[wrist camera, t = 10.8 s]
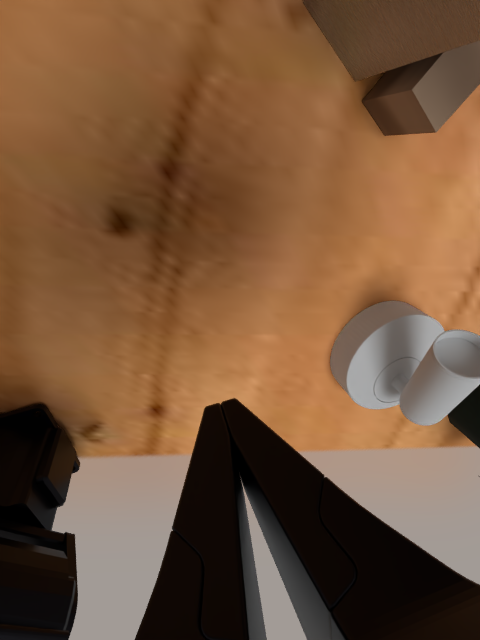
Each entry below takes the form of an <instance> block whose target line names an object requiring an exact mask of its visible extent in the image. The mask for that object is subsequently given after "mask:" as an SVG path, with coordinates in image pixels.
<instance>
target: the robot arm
mask: <svg viewBox="0 0 480 640" xmlns="http://www.w3.org/2000/svg"><path fill="white" fill-rule="evenodd" d="M36 411H39V412H41V413H37V412H36ZM79 467H80V462H79V460H78V458H77V456H76V451H75V449H74V447H73V446H72V444H71V442H70V441H69V439H68V437H67V436H66V434H65V432H64V431H63V429H61V428H60V427H58V425H57V423H56V422H55V420H54V418H53V417H52V415H51V413H50V412H49V410H48V408H47V407H46V406H44V405H41V404H37V405H33V406H29V407H25V408H22V409H18V410H15V411H11V412H7V413H4V414H0V640H68V638H69V636H70V632H71V630H72V627H73V623H74V619H75V615H76V609H77V601H78V590H77V570H76V550H75V535H74V534H71V533H67V532H65V533H64V534H63V533H59V532H55V531H52V525H53V522H54V518H55V514H56V510H57V507H60V506H62V505H63V504H64V502H65V500H66V496H67V492H68V487H69V483H70V478H71V474H72V473H75V472H77V471H78V470H79ZM240 477H241V478H240ZM241 480H242V482H241ZM242 483H243V486H244V489H245V492H246V494H247V497H248V499H249V501H250V504H251V506H252V509H253V511H254V513H255V516H256V518H257V520H258V523H259V525H260V527H261V530H262V532H263V535H264V537H265V540H266V542H267V544H268V547H269V549H270V552H271V554H272V557H273V559H274V561H275V564H276V566H277V568H278V571H279V573H280V576H281V578H282V580H283V582H284V585H285V588H286V590H287V592H288V595H289V597H290V599H291V602H292V604H293V607H294V609H295V612H296V614H297V616H298V619H299V621H300V623H301V626H302V628H303V631H304V633H305V635H306V638H307V640H480V585H479V584H477V583H475V582H473V581H471V580H469V579H467V578H465V577H464V576H462V575H460V574H459V573H457V572H455V571H454V570H452V569H451V568H449V567H448V566H446V565H445V564H443V563H442V562H440V561H439V560H438V559H436V558H435V557H433V556H432V555H430V554H429V553H427V552H426V551H425V550H423V549H422V548H420V547H419V546H417V545H416V544H415V543H413V542H412V541H410V540H409V539H407V538H406V537H404V536H403V535H402V534H400V533H399V532H397V531H396V530H394V529H393V528H391V527H390V526H389V525H387V524H386V523H384V522H383V521H381V520H380V519H379V518H377V517H376V516H375V515H373V514H372V513H371V512H369V511H368V510H366V509H365V508H364V507H362V506H361V505H359V504H358V503H357V502H356V501H355V500H353V499H352V498H351V497H350V496H348V495H347V494H346V493H345V492H344V491H342V490H341V489H340V488H339V487H337V486H336V485H335V484H334V483H333V482H332V481H331V480H330V479H328V478H327V477H325V478H324V475H323V474H322V473H321V472H320V471H319V470H318V469H317V468H315V467H314V466H313V465H312V464H311V463H310V462H308V461H307V460H306V459H305V458H304V457H303V456H302V455H300V454H299V453H298V452H297V451H296V450H295V449H294V448H292V447H291V446H290V445H289V444H288V443H287V442H286V441H284V440H283V439H282V438H281V437H280V436H279V435H277V434H276V433H275V432H274V431H273V430H272V429H271V428H269V427H268V426H267V425H266V424H265V423H264V422H262V421H261V420H260V419H259V418H258V417H257V416H256V415H254V414H253V413H252V412H251V411H250V410H249V409H247V408H246V407H245V406H244V405H243V404H242V403H241V402H239V401H238V400H237V399H235V398H233V399H230V400H226V401H223V402H222V403H221V404H220V403H216V404H213V405H210V406H207V407H205V409H204V412H203V416H202V420H201V424H200V427H199V431H198V435H197V438H196V442H195V446H194V449H193V453H192V457H191V460H190V464H189V468H188V471H187V475H186V479H185V482H184V486H183V490H182V493H181V497H180V501H179V504H178V508H177V512H176V515H175V519H174V523H173V526H172V529H173V531H171V533H170V537H169V541H168V545H167V548H166V551H165V555H164V558H163V561H162V565H161V568H160V571H159V574H158V578H157V581H156V584H155V587H154V589H153V592H152V595H151V598H150V600H149V603H148V606H147V609H146V611H145V614H144V617H143V619H142V622H141V625H140V627H139V630H138V632H137V635H136V638H135V640H267V638H266V632H265V626H264V620H263V613H262V606H261V600H260V594H259V587H258V581H257V575H256V568H255V561H254V555H253V549H252V542H251V536H250V529H249V523H248V517H247V510H246V504H245V497H244V492H243V487H242Z"/></svg>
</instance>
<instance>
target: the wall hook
mask: <svg viewBox="0 0 480 640" xmlns="http://www.w3.org/2000/svg"><path fill="white" fill-rule="evenodd" d="M330 366H331V371H332V374H333V376H334V378H335V379H336V380H337V382H338V383H339V384H340V385H341V386H342V388H343V389H344V390H345V391H346V392H347V394H348V395H349V396H350V397H351V398H352V400H353V401H355V402H356V403H357V404H358V405H360V406H362V407H365V408H369V409H385V408H389V407H393V406H396V405H398V404H400V408H401V411H402V413H403V414H404V415H405V417H406V418H407V419H409V420H410V421H412V422H413V423H416V424H419V425H433V424H435V423H438V422H439V421H441V420H442V419H443V418H444V417H445V416H446V415H447V414H448V413H450V412H451V411H452V410H453V409H454V408H455V407H456V406H457V405H458V404H459V403H460V402H461V401H462V400H464V399H465V398H466V397H467V396H468V395H469V394H470V393H471V392H472V391H473V390H474V389H475V388H476V387H478V386H479V385H480V336H479V335H477V334H475V333H472V332H469V331H465V330H448V331H444V329H443V327H442V326H441V324H440V323H439V322H438V321H436V320H435V319H434V318H432V317H430V316H429V315H427V314H425V313H423V312H422V311H420V310H418V309H417V308H415V307H413V306H411V305H410V304H408V303H405V302H401V301H385V302H381V303H378V304H375V305H372V306H370V307H368V308H366V309H365V310H363V311H361V312H360V313H358V314H357V315H356V316H355V317H353V318H352V319H351V320H350V321H349V322H348V323H347V324H346V325H345V327H344V328H343V329H342V331H341V332H340V333H339V335H338V337H337V339H336V341H335V343H334V345H333V348H332V352H331V357H330Z"/></svg>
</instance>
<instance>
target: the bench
mask: <svg viewBox="0 0 480 640" xmlns="http://www.w3.org/2000/svg"><path fill="white" fill-rule="evenodd" d="M479 84H480V41H477V42H473V43H470V44H467V45H464V46H461V47H458V48H455V49H452V50H449V51H446V52H443V53H440V54H437V55H434V56H431V57H428V58H425V59H422V60H419V61H416V62H413V63H410V64H407V65H404V66H401V67H398V68H395V69H392V70H389V71H387V72H386V73H385V74H384V75H383V76H382V78H381V79H380V80H379V81H378V82H377V84H376V85H375V86H374V87H373V88H372V90H371V91H370V92H369V93H368V95H367V96H366V97H365V98H364V99H363V101H362V102H363V104H364V105H365V107H366V108H367V110H368V111H369V113H370V114H371V116H372V117H373V119H374V120H375V122H376V123H377V125H378V126H379V128H380V129H381V131H382V132H383V134H384V135H385V136H388V135H404V134H419V133H435V132H437V131H438V130H439V129H440V128H441V127H442V125H443V124H444V123H445V122H446V121H447V120H448V119H449V118H450V117H451V115H452V114H453V113H454V112H455V111H456V110H457V109H458V108H459V106H460V105H461V104H462V103H463V102H464V101H465V100H466V99H467V98H468V96H469V95H470V94H471V93H472V92H473V91H474V90H475V89H476V87H477V86H478V85H479Z"/></svg>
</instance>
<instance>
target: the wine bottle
mask: <svg viewBox="0 0 480 640" xmlns="http://www.w3.org/2000/svg"><path fill="white" fill-rule="evenodd" d="M448 416H449V421H450V423H451V424H453V425H454V426H455V427H456V428H457V429H458V430H459V431H461V432H462V433H463V434H464V435H465V436H466V437H467V438H469V439H470V440H471V441H472V442H473V443H474V444H475V445H477V446H478V447H479V448H480V385H479V386H478V387H476V388H475V389H474V390H473V391H472V392H471V393H470V394H469V395H468V396H467V397H466V398H465V399H464V400H462V401H461V402H460V403H459V404H458V405H457V406H456V407H455V408H454V409H453V410H452V411H451V412H450V413H448Z"/></svg>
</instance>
